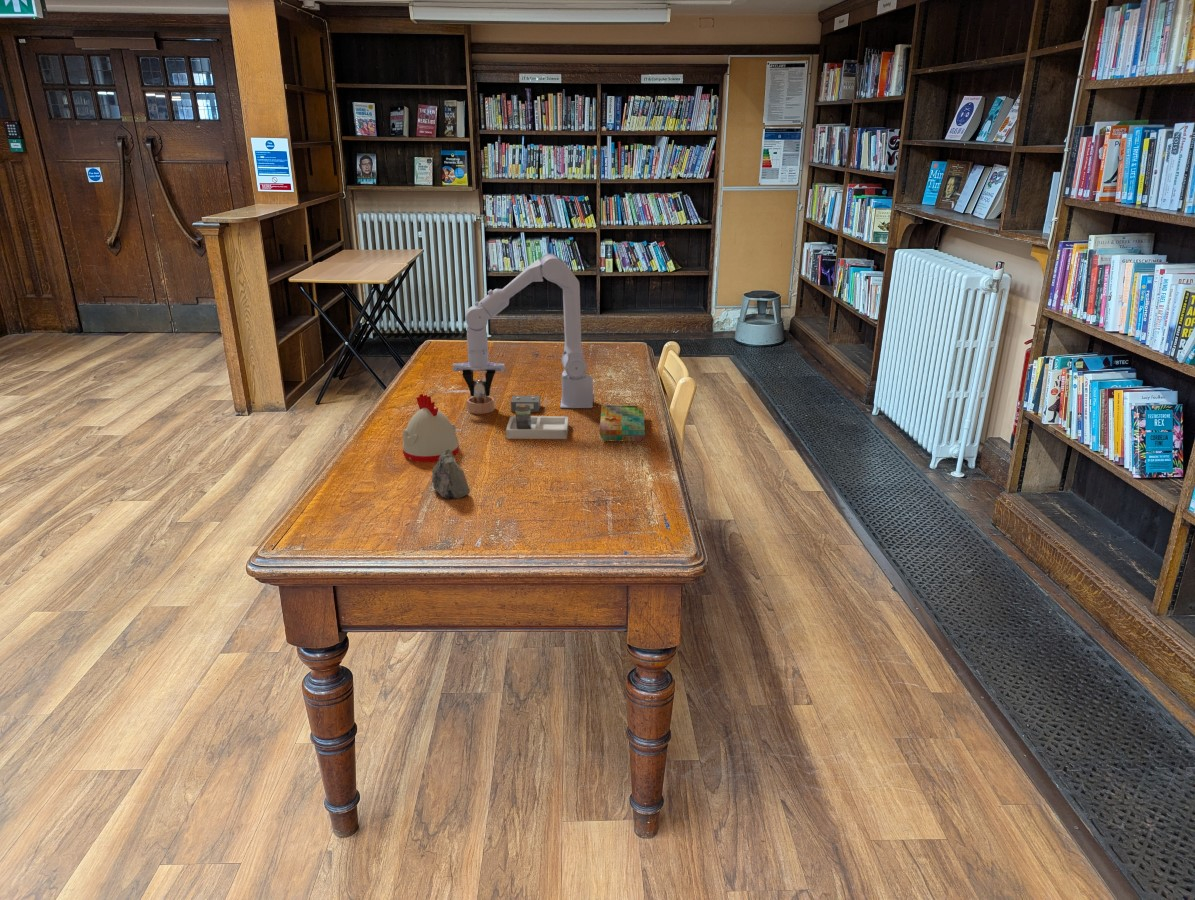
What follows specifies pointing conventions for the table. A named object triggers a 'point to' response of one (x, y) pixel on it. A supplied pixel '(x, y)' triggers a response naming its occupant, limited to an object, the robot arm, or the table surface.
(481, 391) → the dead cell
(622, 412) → the puzzle game
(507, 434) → the tray
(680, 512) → the table surface
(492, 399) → the pink bowl
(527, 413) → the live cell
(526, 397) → the grey box with knobs
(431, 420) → the kitchen timer
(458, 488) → the mineral rock
